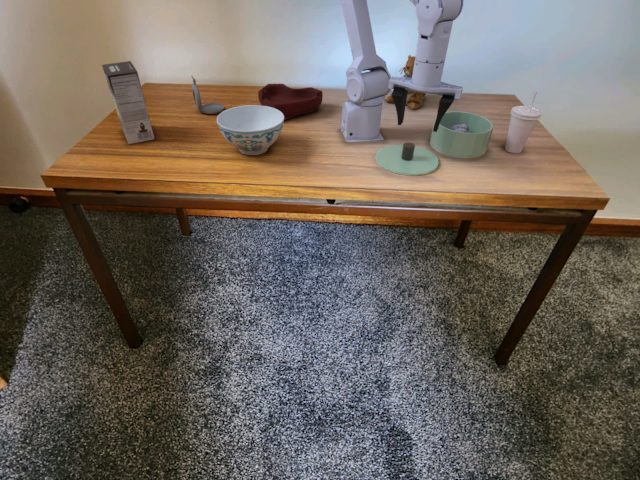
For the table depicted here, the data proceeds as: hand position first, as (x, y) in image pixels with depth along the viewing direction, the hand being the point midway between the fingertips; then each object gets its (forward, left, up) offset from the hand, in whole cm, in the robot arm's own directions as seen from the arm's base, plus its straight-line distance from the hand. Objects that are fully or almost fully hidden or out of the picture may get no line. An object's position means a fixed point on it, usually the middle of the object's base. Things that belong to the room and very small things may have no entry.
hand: (417, 126), depth 86 cm
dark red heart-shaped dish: (-26, +32, -8) cm, 42 cm away
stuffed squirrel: (+12, +36, -8) cm, 39 cm away
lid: (-2, -1, -8) cm, 8 cm away
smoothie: (+26, +2, -8) cm, 28 cm away
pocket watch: (-48, +35, -8) cm, 60 cm away
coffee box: (-64, +21, -8) cm, 68 cm away
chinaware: (-36, +10, -8) cm, 38 cm away
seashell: (+14, +6, -8) cm, 17 cm away
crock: (+13, +5, -8) cm, 17 cm away
